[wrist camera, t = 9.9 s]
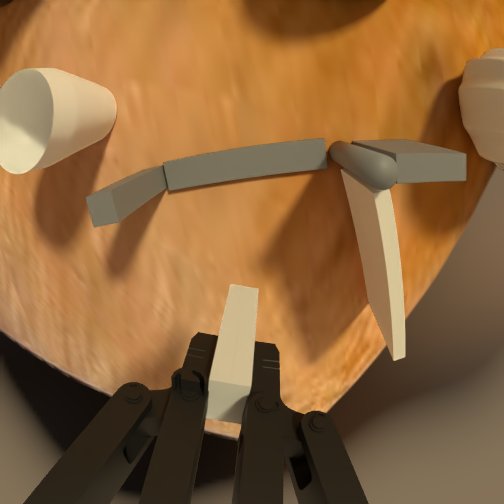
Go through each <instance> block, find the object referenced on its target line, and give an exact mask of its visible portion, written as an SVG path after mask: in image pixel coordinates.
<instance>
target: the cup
mask: <svg viewBox="0 0 504 504" xmlns="http://www.w3.org/2000/svg"><path fill="white" fill-rule="evenodd" d="M116 115H117V105H116V101H115V98H114V96H113V94H112V93H111V92H110V91H109V90H108V89H107V88H105V87H103V86H100V85H98V84H96V83H93V82H91V81H88V80H86V79H83V78H80V77H78V76H75V75H73V74H70V73H67V72H65V71H62V70H59V69H55V68H28V69H22V70H19V71H17V72H16V73H14V74H13V75H12V76H10V77H9V78H8V79H7V80H6V82H5V83H4V84H3V86H2V87H1V89H0V165H1V166H2V167H3V168H4V169H5V170H6V171H8V172H10V173H13V174H22V173H26V172H29V171H33V170H37V169H43V168H46V167H49V166H51V165H53V164H55V163H57V162H59V161H61V160H63V159H64V158H66V157H68V156H70V155H72V154H74V153H76V152H78V151H80V150H82V149H84V148H86V147H88V146H90V145H92V144H94V143H96V142H98V141H100V140H102V139H103V138H104V137H106V136H107V135H108V133H109V132H110V131H111V129H112V127H113V125H114V123H115V120H116Z"/></svg>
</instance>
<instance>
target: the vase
mask: <svg viewBox="0 0 504 504" xmlns="http://www.w3.org/2000/svg"><path fill="white" fill-rule="evenodd" d="M458 94H459V104H460V111H461V117H462V122H463V126H464V128H465V129H466V131H467V132H468V133H469V135H470V137H471V139H472V141H473V144H474V146H475V148H476V150H477V152H478V154H479V156H481V157H482V158H484V159H486V160H489V161H492V162H494V163H495V164H496V165H497V166H498V167H499V168H500V169H502V170H503V171H504V48H495V49H490V50H488V51H486V52H484V53H483V54H482V56H481V57H480V58H476V59H471V60H469V61H468V62H466V65H465V69H464V73H463V78H462V83H461V85H460V87H459V89H458Z"/></svg>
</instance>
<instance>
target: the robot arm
mask: <svg viewBox="0 0 504 504" xmlns="http://www.w3.org/2000/svg"><path fill="white" fill-rule="evenodd" d="M11 1H13V0H0V7H2V6H5V5H6V4H8V3H10V2H11ZM258 291H259V289H258V288H252V287H246V286H240V285H234V284H230V288H229V293H228V297H227V301H226V306H225V310H224V314H223V319H222V323H221V328H220V332H219V336H216V335H211V334H205V333H200V332H198V333H197V334H196V335H195V336H194V337H193V338H192V339H191V342H190V345H189V349H188V351H187V355H186V357H185V361H184V364H183V367H182V368H180V369H178V370H176V371H175V372H174V373H173V375H172V376H171V378H172V387H170V388H168V389H164V390H149V389H148V388H147V387H146V386H144V385H143V384H140V383H137V382H130V383H127V384H124V385H123V386H121V387H120V388H119V389H118V390H117V391H116V393H115V394H114V395H113V396H112V397H111V398H110V400H109V401H108V402H107V403H106V404H105V406H104V407H103V408H102V409H101V410H100V412H99V413H98V414H97V415H96V416H95V418H94V419H93V420H92V421H91V422H90V423H89V425H88V426H87V427H86V428H85V429H84V431H83V432H82V433H81V434H80V435H79V436H78V438H77V439H76V440H75V441H74V442H73V444H72V445H71V446H70V447H69V449H68V450H67V451H66V452H65V453H64V454H63V456H62V457H61V458H60V459H59V460H58V462H57V463H56V464H55V465H54V467H53V468H52V469H51V470H50V471H49V473H48V474H47V475H46V477H44V479H43V480H42V481H41V482H40V484H39V485H38V486H37V487H36V488H35V490H34V491H33V492H32V493H31V495H30V496H29V497H28V498H27V500H26V501H25V502H24V503H23V504H110V502H111V501H112V499H113V498H114V496H115V495H116V493H117V492H118V490H119V489H120V487H121V486H122V485H123V483H124V482H125V480H126V479H127V477H128V476H129V474H130V473H131V471H132V470H133V468H134V467H135V465H136V464H137V462H138V461H139V459H140V458H141V456H142V455H143V453H144V452H145V450H146V449H147V447H148V446H149V444H150V443H151V441H152V440H153V438H154V437H155V436H158V438H157V441H156V444H155V448H154V452H153V455H152V458H151V462H150V465H149V468H148V473H147V476H146V479H145V483H144V486H143V490H142V494H141V498H140V501H139V504H190V503H191V498H192V492H193V486H194V481H195V476H196V470H197V465H198V460H199V454H200V449H201V444H202V439H203V433H204V426H205V420H206V418H208V419H213V420H219V421H225V422H232V423H239V424H241V423H242V424H241V431H240V434H239V438H238V441H237V443H238V452H237V462H236V470H235V479H234V489H233V497H232V504H283V455H284V456H285V460H286V463H287V467H288V470H289V473H290V477H291V480H292V483H293V487H294V490H295V493H296V496H297V500H298V503H299V504H368V501H367V499H366V496H365V494H364V491H363V489H362V487H361V485H360V482H359V480H358V477H357V475H356V473H355V470H354V468H353V466H352V463H351V461H350V458H349V456H348V454H347V451H346V449H345V447H344V444H343V442H342V439H341V437H340V435H339V433H338V430H337V428H336V425H335V423H334V421H333V420H332V418H331V417H330V416H329V415H328V414H326V413H324V412H321V411H311V412H308V413H306V414H302V413H299V412H296V411H294V410H291V409H289V408H288V407H287V406H285V404H284V403H283V402H282V400H281V398H280V370H279V368H280V363H279V351H278V349H277V347H276V345H275V344H271V343H264V342H257V341H255V332H256V319H257V305H258Z"/></svg>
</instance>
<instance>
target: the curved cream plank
mask: <svg viewBox="0 0 504 504" xmlns="http://www.w3.org/2000/svg"><path fill="white" fill-rule="evenodd" d="M340 170H341V174H342V178H343V181H344V185H345V189H346V193H347V197H348V201H349V205H350V210H351V214H352V218H353V223H354V227H355V232H356V237H357V242H358V247H359V252H360V257H361V262H362V268H363V273H364V279H365V285H366V291H367V298H368V303H369V305H370V307H371V309H372V312H373V314H374V316H375V318H376V320H377V323H378V325H379V327H380V330H381V332H382V334H383V337H384V339H385V341H386V344H387V346H388V348H389V351H390V353H391V356H392V358H393V360H394V361H395V360H398V359H401V358H404V357H405V314H404V296H403V282H402V271H401V261H400V252H399V244H398V237H397V229H396V223H395V216H394V210H393V205H392V199H391V194H390V189H387V190H378V189H376V188H374V187H372V186H371V185H370V184H368V183H367V182H365V181H364V180H362V179H361V178H359V177H358V176H356V175H355V174H353V173H352V172H350V171H349V170H347V169H346V168H343V169H340Z"/></svg>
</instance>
